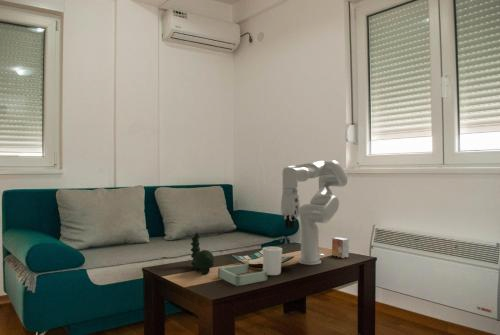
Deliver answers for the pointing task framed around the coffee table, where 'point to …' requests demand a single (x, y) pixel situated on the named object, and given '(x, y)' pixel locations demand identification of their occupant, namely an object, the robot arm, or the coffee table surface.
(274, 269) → the candle holder
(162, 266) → the coffee table surface
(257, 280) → the tray
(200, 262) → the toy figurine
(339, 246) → the small box
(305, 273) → the coffee table surface
